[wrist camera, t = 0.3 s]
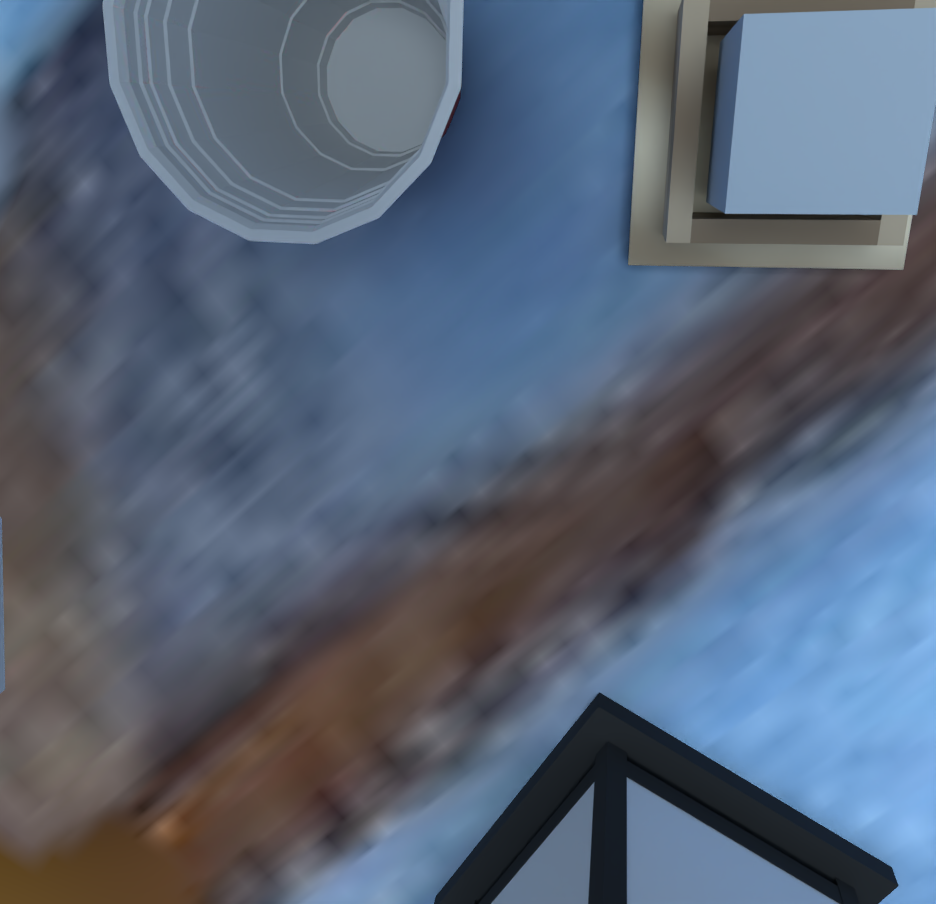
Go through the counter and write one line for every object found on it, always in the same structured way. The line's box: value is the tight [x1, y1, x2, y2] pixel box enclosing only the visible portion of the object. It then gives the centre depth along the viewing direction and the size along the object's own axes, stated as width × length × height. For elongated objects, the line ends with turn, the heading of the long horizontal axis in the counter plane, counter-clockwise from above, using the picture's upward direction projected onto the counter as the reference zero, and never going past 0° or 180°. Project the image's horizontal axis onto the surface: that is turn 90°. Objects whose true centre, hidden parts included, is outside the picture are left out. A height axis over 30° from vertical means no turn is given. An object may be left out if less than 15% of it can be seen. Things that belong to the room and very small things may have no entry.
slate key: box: [706, 8, 936, 215], centre depth 25 cm, size 5×5×6 cm
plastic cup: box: [102, 0, 464, 244], centre depth 28 cm, size 11×11×12 cm
